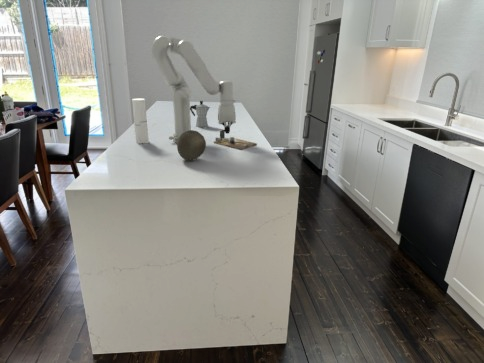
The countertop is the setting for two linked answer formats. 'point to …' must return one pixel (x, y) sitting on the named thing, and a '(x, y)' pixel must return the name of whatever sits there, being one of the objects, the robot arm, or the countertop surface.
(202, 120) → the coffee maker
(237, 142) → the plate
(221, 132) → the swing bar
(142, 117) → the cylindrical container
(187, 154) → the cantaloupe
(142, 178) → the countertop surface
